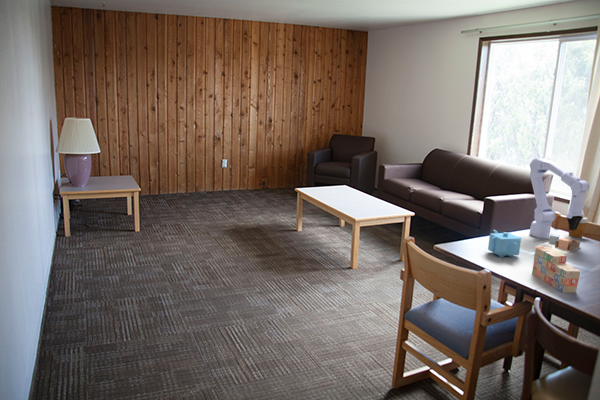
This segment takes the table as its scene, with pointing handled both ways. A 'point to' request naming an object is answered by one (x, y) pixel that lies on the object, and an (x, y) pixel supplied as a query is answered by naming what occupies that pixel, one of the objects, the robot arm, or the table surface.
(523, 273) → the table surface
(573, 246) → the walnut cubby
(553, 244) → the deck
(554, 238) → the white block
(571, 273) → the stack of blocks
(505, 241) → the teapot
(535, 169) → the robot arm
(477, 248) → the table surface
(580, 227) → the disposable coffee cup
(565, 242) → the terracotta cube
